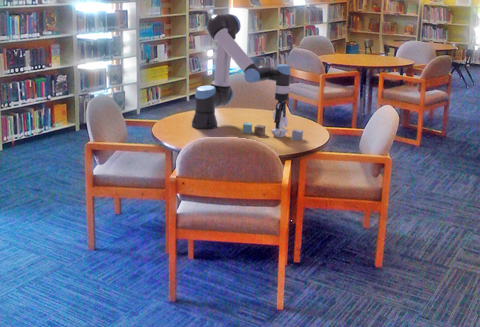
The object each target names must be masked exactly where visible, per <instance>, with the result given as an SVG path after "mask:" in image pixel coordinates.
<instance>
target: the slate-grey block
mask: <svg viewBox="0 0 480 327" xmlns="http://www.w3.org/2000/svg"><path fill="white" fill-rule="evenodd" d="M303 134H304V130H301V129H295V128H294V129H293V130H292V131H291V141H297V142H298V141H299V142H301V141H302V140H303V136H304V135H303Z"/></svg>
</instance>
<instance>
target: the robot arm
mask: <svg viewBox="0 0 480 327" xmlns="http://www.w3.org/2000/svg"><path fill="white" fill-rule="evenodd" d="M206 23H207V24H206V29H207V32H208V34H209V36H210V37H211V38H212V40H214V42H217V46H216V47H217V49H216V59H215V68H214V69H215V70H214V80H213V81H212V82H211V83H210V85H201V86H198V87H197V88H196V89H195V95H194V97H195V98H194V115H193V117H192V121H191V127H192V128H195V129H200V130H201V129H202V130H211V129H212V130H213V129H216V128H218V122H217V121H218V120H217V117H216V113H215V112H216V107H222V106H226V105H228V104H230V103H231V102H232V100H233V98H234V90H232V89H233V88H232V87H231V84H232V83H230V82H229V81H230V80H229V79H230V70H231V59H232V60H233V61H234V62H235V64H236V65H237V66H238V68H239V69H241V70H240V71H242V72H243V73H244V74H243V75H244V80H245V81H246V83H247V82H248V83H258V82H264V81H272V82H275V87H274V88H275V89H274V91H275V92H274V99H275V101H277V104H275V110H276V113H275V120H273V123H275V125H274V129H275V134H280V119H281V113H282V111H283V117H287V116H286V115H287V114H286V112H287V111H286V110H287V101H288V100H289V94H290V93H289V92H290V91H289V90H290V89H291V87H290V81H291V80H290V79H291V65H289V64H284V63H281V64H277V65H276V67H275V66H271V65H270V66H269V65H260V66H257V64H255V63H254V62H253V60H252V59H251V58H250V56H248V55H247V53H246V52H245V51H244V50H243V49H242V47H241V46H240V45H239V43H237V41H236V37H237V34H238V33H239V32H240V30H241V21H240V19H239V18H238V17H237V15H234V14H233V13H232V14H231V13H220V14H219V13H218V14H214V15H212V16H210V17H209V18H208V20H207V22H206ZM282 129H285V127H284V122H282Z"/></svg>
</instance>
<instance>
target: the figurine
mask: <svg viewBox="0 0 480 327" xmlns="http://www.w3.org/2000/svg"><path fill="white" fill-rule="evenodd" d="M275 113H276V109H273V111H272V119H273V121H275ZM282 122H284V129H282ZM288 122H289V119H288V117H287V116H286V117H283V111H282V113H281V119H280V134H275V128H272V129H270V131H271V133H272V135H273V137H276V138H282V137H285V136H286V134H287V133H288V131H289V129H286V128H287V127H288V126H289V125H288V124H289V123H288Z"/></svg>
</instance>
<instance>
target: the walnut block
mask: <svg viewBox="0 0 480 327" xmlns="http://www.w3.org/2000/svg"><path fill="white" fill-rule="evenodd" d="M265 134H266V125H261V124H256V125H254V128H253V135H254V136H260V137H263V136H264V135H265Z"/></svg>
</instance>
